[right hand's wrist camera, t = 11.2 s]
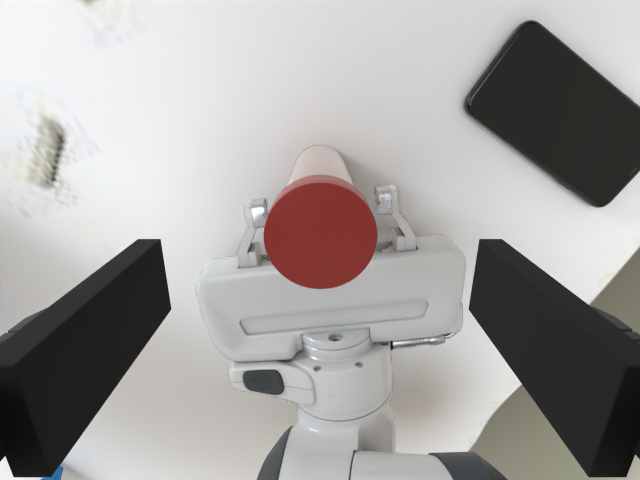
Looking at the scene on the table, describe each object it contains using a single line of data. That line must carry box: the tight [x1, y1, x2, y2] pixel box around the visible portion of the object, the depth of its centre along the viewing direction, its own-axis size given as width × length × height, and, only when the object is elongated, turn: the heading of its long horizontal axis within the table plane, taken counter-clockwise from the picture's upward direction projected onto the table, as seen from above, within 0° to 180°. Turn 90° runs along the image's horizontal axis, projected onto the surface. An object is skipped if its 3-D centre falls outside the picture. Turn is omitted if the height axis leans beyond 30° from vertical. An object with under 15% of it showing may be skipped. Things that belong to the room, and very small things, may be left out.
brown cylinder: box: [286, 145, 354, 187], centre depth 25 cm, size 4×4×17 cm
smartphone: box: [464, 20, 640, 208], centre depth 31 cm, size 8×1×16 cm
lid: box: [264, 174, 377, 289], centre depth 18 cm, size 5×5×2 cm
